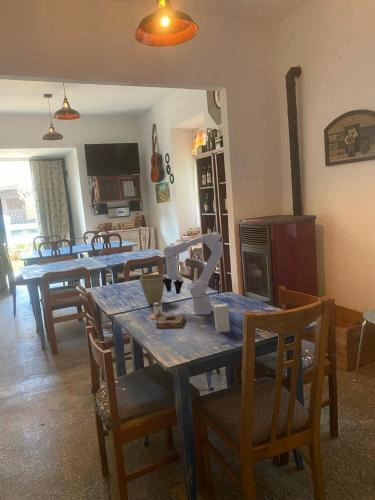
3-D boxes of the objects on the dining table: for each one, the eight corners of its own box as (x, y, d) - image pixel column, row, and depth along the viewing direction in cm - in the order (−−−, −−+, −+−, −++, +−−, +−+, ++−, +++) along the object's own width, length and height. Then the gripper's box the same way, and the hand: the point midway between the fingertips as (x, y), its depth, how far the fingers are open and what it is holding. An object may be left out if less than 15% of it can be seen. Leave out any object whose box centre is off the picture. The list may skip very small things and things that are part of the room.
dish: (168, 313, 203) (167, 312, 203) (164, 319, 194) (164, 318, 194) (151, 314, 204) (151, 313, 204) (147, 319, 196) (147, 318, 195)
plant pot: (171, 302, 224) (169, 276, 222) (148, 307, 217) (145, 280, 215) (160, 297, 237) (158, 272, 235) (138, 302, 230) (135, 276, 228)
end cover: (164, 314, 201) (163, 301, 200) (162, 317, 196) (161, 304, 195) (154, 314, 201) (153, 301, 200) (152, 317, 196) (151, 304, 195)
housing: (184, 319, 192) (184, 314, 192) (181, 327, 180) (180, 322, 180) (161, 319, 194) (161, 315, 194) (156, 327, 182) (156, 322, 182)
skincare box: (228, 328, 174) (226, 303, 172) (230, 332, 170) (228, 305, 168) (215, 330, 174) (213, 304, 172) (216, 333, 169) (215, 307, 168)
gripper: (157, 267, 206) (159, 292, 208) (175, 270, 196) (176, 296, 198) (167, 265, 211) (169, 289, 213) (185, 268, 200) (186, 293, 202)
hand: (173, 292), depth 206 cm, fingers open, 7 cm apart
